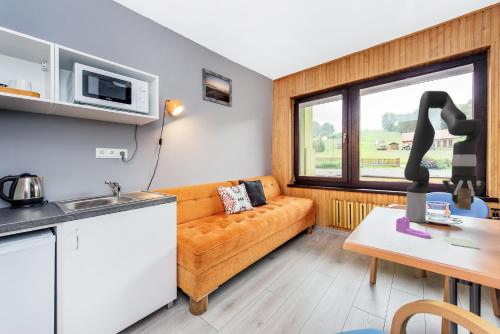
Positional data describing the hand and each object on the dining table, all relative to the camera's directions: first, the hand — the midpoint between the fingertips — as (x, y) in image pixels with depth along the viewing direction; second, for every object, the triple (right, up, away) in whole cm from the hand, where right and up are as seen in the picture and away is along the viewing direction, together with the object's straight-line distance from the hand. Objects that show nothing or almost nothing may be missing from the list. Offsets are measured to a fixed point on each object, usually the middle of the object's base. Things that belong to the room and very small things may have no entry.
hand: (462, 203), depth 92 cm
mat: (-1, -17, 0) cm, 17 cm away
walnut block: (0, -2, 0) cm, 2 cm away
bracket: (-13, -17, +12) cm, 25 cm away
